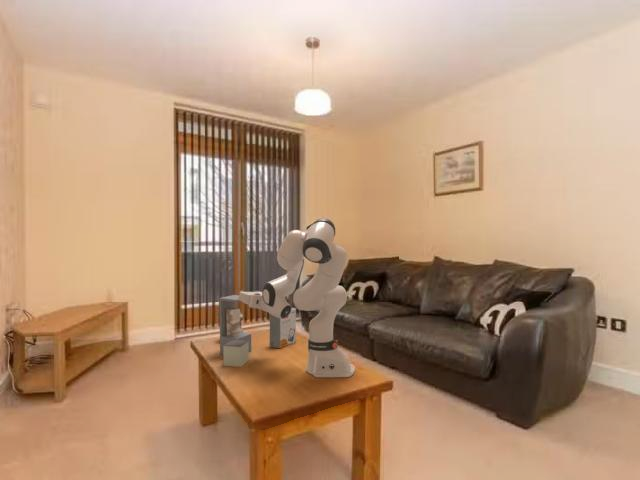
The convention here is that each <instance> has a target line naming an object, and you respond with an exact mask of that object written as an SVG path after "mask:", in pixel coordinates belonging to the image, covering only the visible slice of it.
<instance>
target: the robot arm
mask: <svg viewBox="0 0 640 480" xmlns="http://www.w3.org/2000/svg"><path fill="white" fill-rule="evenodd" d="M335 236H336V226H335V224H334V222H333V221H332V220H330V219H328V218H323V217H322V218H319V219H316V221H314V222H313V223H311V224H309V225H308V226H307V227H306V230H305V231H303V230H299V229H293V230H291V231H289V232H288V233H287V235H286V236H285V237H284V239H283V241H282V242H281V245H280V246H279V249H278V251H277V254H276V260H277V263H278V265H279V266H280V267H281V268H282V269H284V270H286V271H287V273H286V274H283V275H282V276H281V275H280V276H278V277H277V278H275V279H272V280H270V281H267V282H266V283H264V284H263V287H262V291H259V290H254V291H245V290H239V294H238V295H239V297H238V298H239V300H240V301H239V302H242V303H243V304H246V305H248V307H249V308H252V309H259V310H260V311H264V312H266V313H269V315H270V314H271V315H273V316H275V317H277V318H281V319H283V318H285V317H287V316H288V315H289V314H290V312H291V309H292V308H293V307H292V305H291V304H290V303H289V302H288V301H287V300H286V297H287V296H290V295H293V297H292V298H293V299H292V301H293V304H294V306H295V308H296V309H297V310H298V311H307V312H310V311H318V310H319V312H318V314H317V315H316V316H314V317H313V318H312V319H311V320H310V322H309V324H308V338H309V339H308V340H307V349H308V350H307V351H308V358H307V365H306V368H305V371H306V372H307V373H308V374H310V375H312V376H313V377H315V378H350V377H351V376H353V375H354V374H355V372H356V366H355V365H354V364H351V361H350V358H349V356H348V354H347V353H345V352H344V351H343V350H341V349H340V347H338V340H337V339H335V338H334V324H335V323H334V322H335V319H336V316H337V314H338V313H339V311H340V309H342V308H343V306H345V305H346V302H347V300H348V294H347V291H346V289H345V287H343V286H342V285H339V284H340V283H341V279H342V277H343V274H344V271H345V269H346V263H347V258H348V253H347V251H346V249H345V248H344V247H342V246H340V245H338V244H335V242H334V241H335V240H334V239H335ZM304 258H305V259H306V260H308V261H309V262H311V263H313V264H314V263H315V264H318V265H317V268H316V270H315V273H314V275H313V277H312V278H311V279H310V280H309V281H308V282H307V283H306V284H304V285H303V286H300V287H299V285H300V278H301V275H302V271H303V268H304V265H305V259H304Z"/></svg>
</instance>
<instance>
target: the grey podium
mask: <svg viewBox="0 0 640 480" xmlns="http://www.w3.org/2000/svg"><path fill="white" fill-rule="evenodd" d="M238 297H239V294H232V295H228V296H221V297H219V299H218V302H219V303H218V304H219V306H218V309H219V355H223V356H224V353H223V346H224V345H225V344H226V343H228V342H230V341H231V340H243V341H249V353H251V352H252V333H247V332H243V333H242V332H240V334H239V335H237V336H228V335H227V318H226V309H229V308H233V307H234V308H237V307H236V306H237V305H236V304H237V303H239V302H241V301H240V300H239V298H238Z"/></svg>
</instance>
